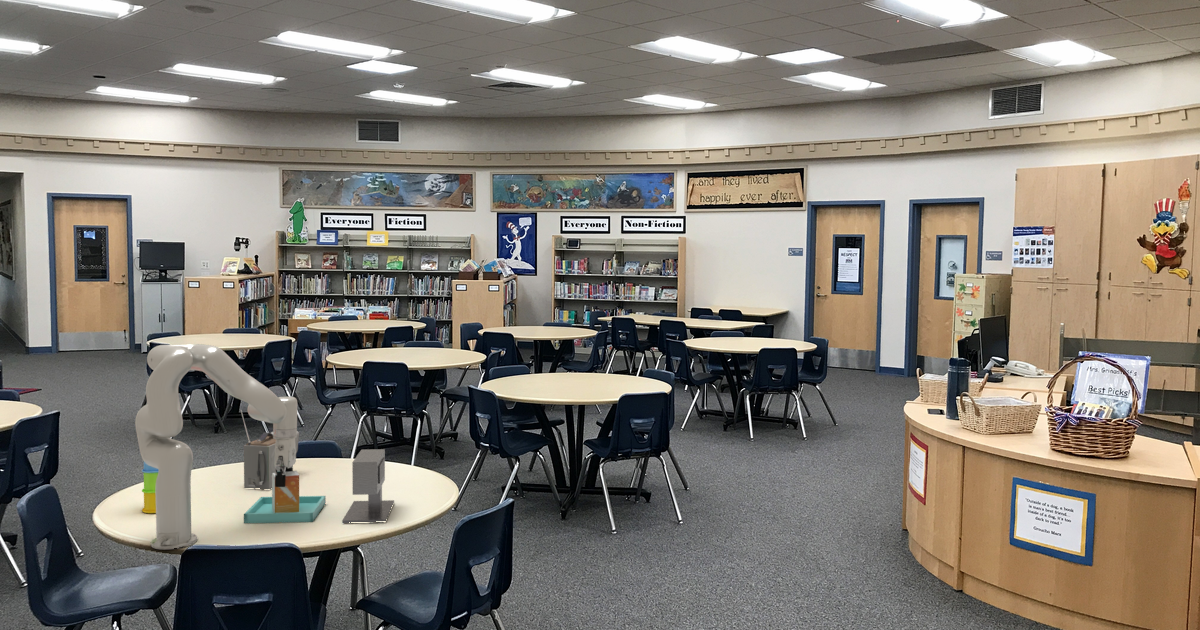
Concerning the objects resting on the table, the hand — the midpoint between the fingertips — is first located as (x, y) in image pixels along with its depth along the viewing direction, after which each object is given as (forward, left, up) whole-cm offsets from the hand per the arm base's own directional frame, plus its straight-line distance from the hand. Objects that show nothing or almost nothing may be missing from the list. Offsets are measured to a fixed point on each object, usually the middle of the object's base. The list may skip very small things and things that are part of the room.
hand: (284, 483), depth 282 cm
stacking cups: (+8, +43, -11) cm, 45 cm away
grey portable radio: (+42, +15, -11) cm, 46 cm away
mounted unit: (-1, -29, -11) cm, 30 cm away
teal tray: (+1, -1, -11) cm, 11 cm away
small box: (0, 0, -10) cm, 10 cm away
